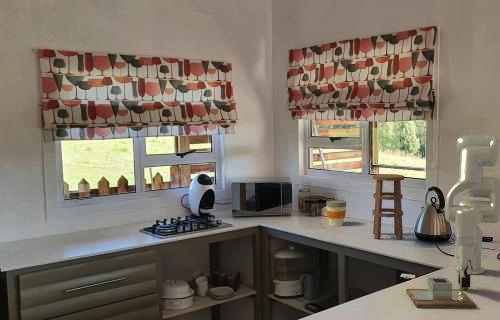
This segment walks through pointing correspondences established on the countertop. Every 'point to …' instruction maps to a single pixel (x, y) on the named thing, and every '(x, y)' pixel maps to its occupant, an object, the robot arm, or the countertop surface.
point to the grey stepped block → (439, 291)
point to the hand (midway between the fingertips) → (464, 285)
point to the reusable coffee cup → (336, 212)
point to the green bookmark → (407, 276)
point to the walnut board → (441, 301)
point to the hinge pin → (461, 281)
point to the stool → (397, 208)
